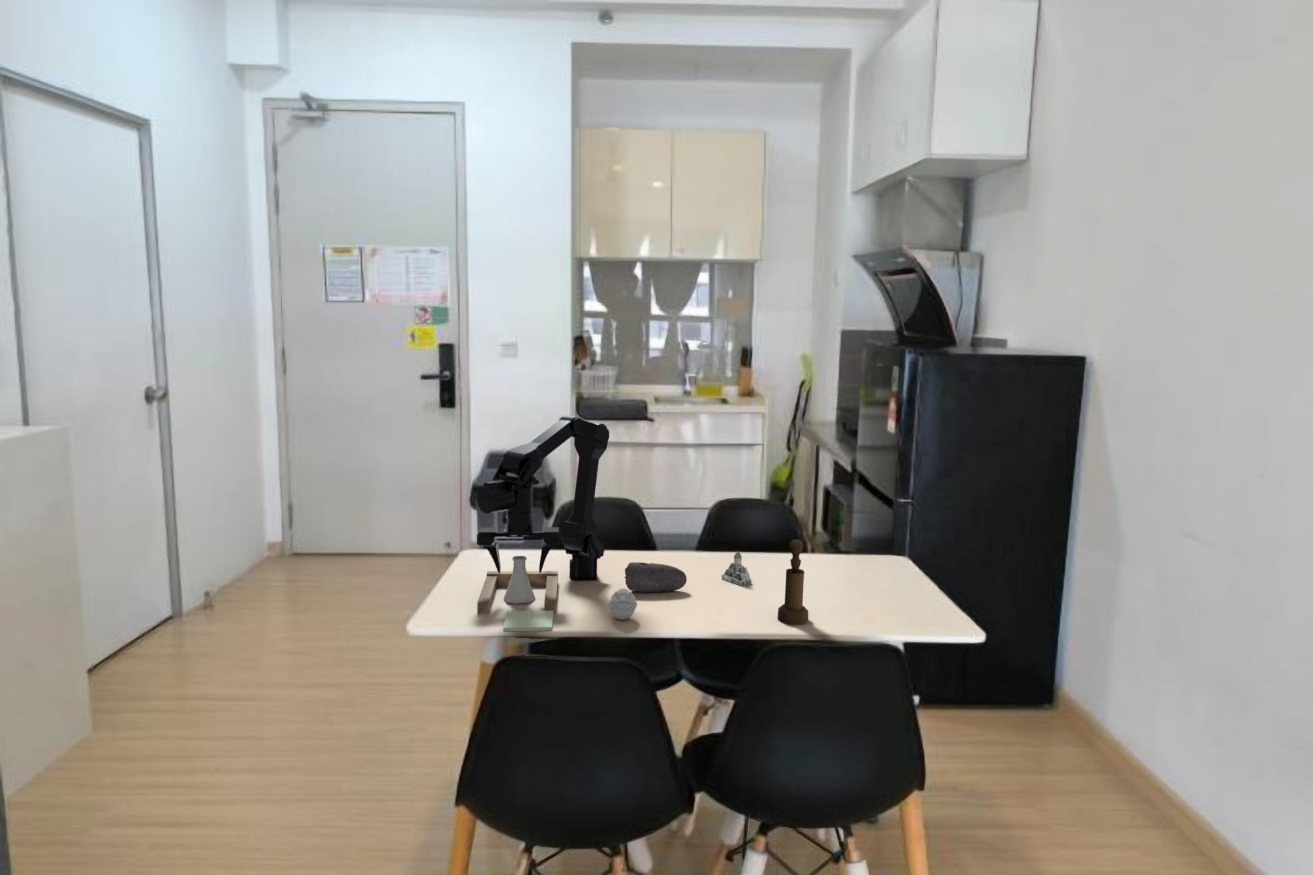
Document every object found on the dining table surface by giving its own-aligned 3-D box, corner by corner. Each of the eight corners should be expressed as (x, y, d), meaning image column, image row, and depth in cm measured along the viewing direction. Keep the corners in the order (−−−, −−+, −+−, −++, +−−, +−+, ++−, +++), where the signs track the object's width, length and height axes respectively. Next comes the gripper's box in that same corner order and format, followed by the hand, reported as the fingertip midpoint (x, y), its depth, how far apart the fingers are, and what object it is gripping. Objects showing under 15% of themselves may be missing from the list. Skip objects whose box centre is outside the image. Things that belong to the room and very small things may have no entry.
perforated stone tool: (685, 588, 205) (686, 560, 204) (687, 595, 200) (688, 566, 199) (624, 587, 205) (624, 559, 204) (624, 594, 200) (624, 565, 199)
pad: (553, 614, 185) (553, 610, 185) (551, 630, 175) (552, 627, 175) (507, 614, 184) (507, 610, 184) (503, 631, 174) (503, 627, 174)
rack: (557, 582, 207) (558, 571, 206) (555, 612, 186) (555, 599, 186) (487, 583, 205) (487, 571, 205) (477, 613, 184) (477, 599, 184)
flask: (505, 594, 197) (504, 553, 196) (536, 594, 198) (536, 553, 197) (502, 605, 190) (501, 562, 189) (534, 604, 191) (534, 561, 189)
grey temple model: (770, 582, 212) (771, 552, 211) (745, 588, 207) (746, 558, 206) (745, 573, 219) (746, 545, 218) (720, 579, 214) (721, 549, 213)
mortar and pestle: (810, 617, 187) (814, 537, 184) (805, 626, 181) (809, 545, 178) (780, 613, 189) (784, 534, 186) (774, 622, 183) (778, 541, 180)
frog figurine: (608, 625, 179) (609, 593, 178) (608, 613, 186) (609, 583, 185) (637, 625, 179) (637, 593, 178) (636, 613, 186) (636, 583, 185)
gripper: (561, 498, 200) (561, 562, 202) (481, 498, 198) (482, 562, 200) (560, 508, 189) (560, 576, 191) (476, 508, 187) (476, 577, 189)
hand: (519, 572), depth 193 cm, fingers open, 9 cm apart
